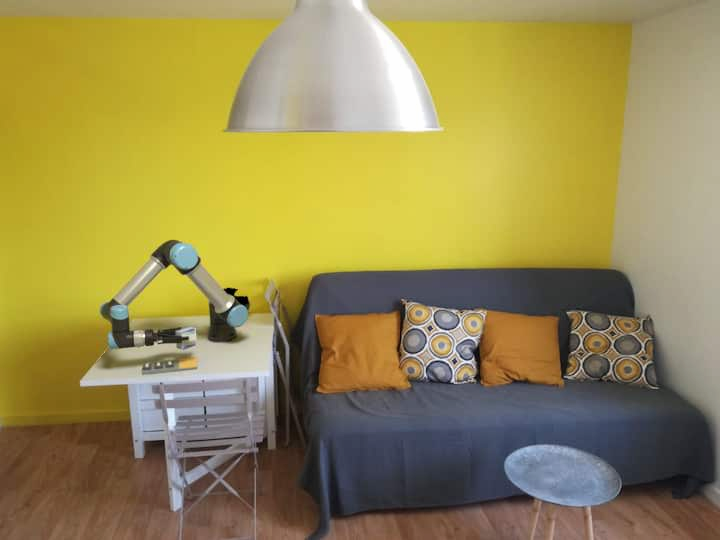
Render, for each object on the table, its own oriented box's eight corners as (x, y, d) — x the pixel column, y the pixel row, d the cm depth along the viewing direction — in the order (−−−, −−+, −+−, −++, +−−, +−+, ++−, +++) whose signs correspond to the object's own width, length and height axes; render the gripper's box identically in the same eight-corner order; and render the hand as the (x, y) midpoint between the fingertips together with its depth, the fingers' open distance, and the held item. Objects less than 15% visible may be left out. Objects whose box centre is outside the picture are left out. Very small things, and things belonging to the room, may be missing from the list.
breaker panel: (196, 359, 295) (196, 353, 294) (197, 369, 283) (197, 363, 282) (143, 364, 288) (143, 358, 288) (142, 375, 276) (141, 368, 275)
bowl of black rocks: (235, 313, 366) (233, 282, 362) (258, 319, 354) (256, 288, 350) (208, 321, 351) (206, 289, 347) (230, 328, 339) (228, 295, 335)
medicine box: (182, 350, 281) (181, 332, 279) (176, 348, 283) (175, 330, 281) (196, 345, 287) (195, 327, 285) (189, 343, 290) (188, 326, 288)
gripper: (146, 338, 290) (195, 334, 296) (144, 353, 270) (197, 349, 276) (145, 323, 288) (195, 319, 294) (142, 337, 268) (196, 333, 275)
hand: (196, 333), depth 285 cm, fingers closed on medicine box, 8 cm apart
